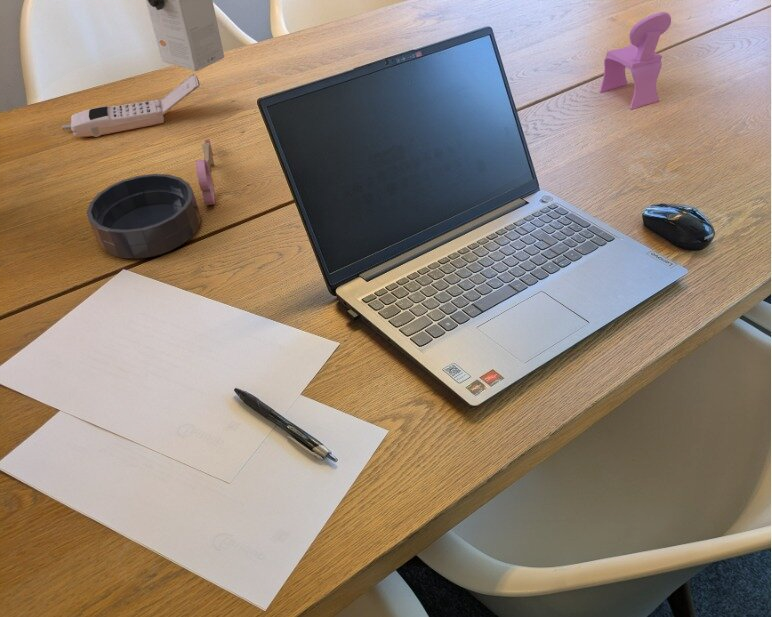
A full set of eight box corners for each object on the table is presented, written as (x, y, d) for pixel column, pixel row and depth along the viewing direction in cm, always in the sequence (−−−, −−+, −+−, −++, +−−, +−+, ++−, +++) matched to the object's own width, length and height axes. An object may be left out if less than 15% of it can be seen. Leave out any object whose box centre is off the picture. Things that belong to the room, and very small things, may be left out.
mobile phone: (200, 85, 116) (50, 112, 110) (208, 116, 120) (63, 144, 114) (196, 72, 120) (51, 98, 115) (203, 103, 124) (64, 129, 118)
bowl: (129, 276, 87) (117, 245, 84) (82, 232, 95) (69, 203, 91) (220, 228, 94) (212, 199, 90) (169, 191, 102) (160, 163, 98)
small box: (225, 58, 105) (207, -30, 96) (196, 72, 101) (174, -18, 92) (190, 48, 109) (170, -38, 100) (161, 62, 105) (137, -26, 96)
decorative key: (218, 162, 113) (214, 210, 96) (210, 163, 113) (205, 211, 96) (209, 123, 109) (203, 166, 93) (201, 124, 109) (194, 167, 93)
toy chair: (628, 81, 122) (646, -4, 112) (663, 99, 116) (685, 11, 106) (592, 92, 119) (607, 5, 109) (626, 111, 114) (645, 21, 103)
